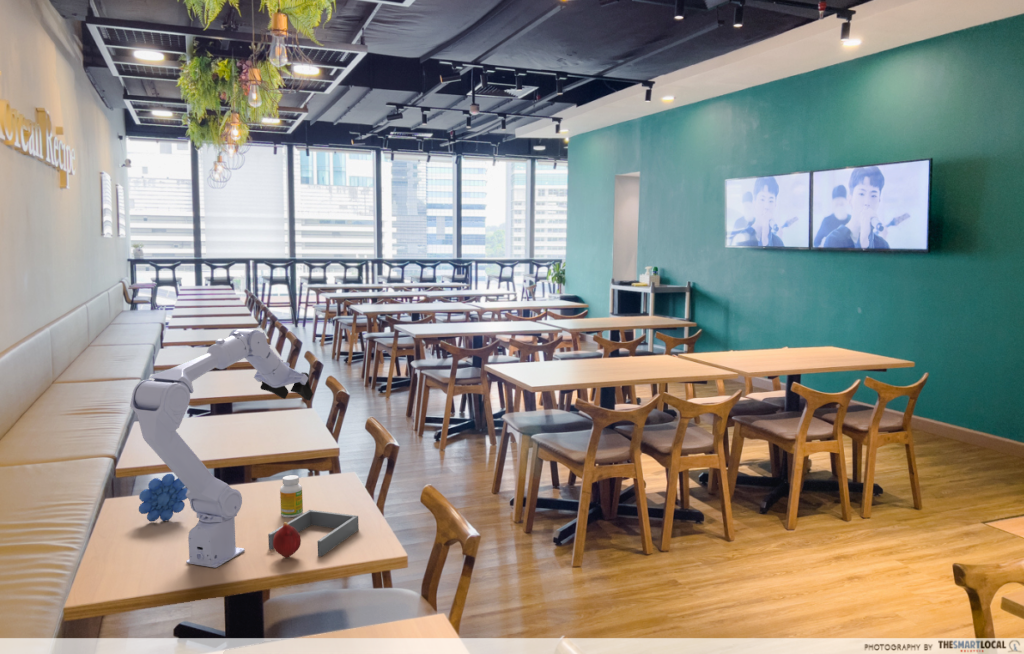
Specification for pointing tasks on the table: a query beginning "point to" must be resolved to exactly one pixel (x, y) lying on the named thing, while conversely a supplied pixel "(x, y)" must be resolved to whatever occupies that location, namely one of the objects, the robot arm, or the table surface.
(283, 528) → the onion
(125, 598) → the table surface
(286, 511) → the supplement bottle
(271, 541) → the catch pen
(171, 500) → the blue flower
